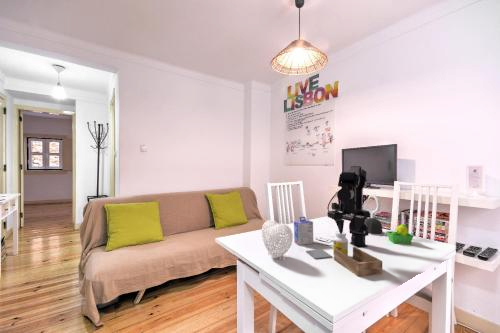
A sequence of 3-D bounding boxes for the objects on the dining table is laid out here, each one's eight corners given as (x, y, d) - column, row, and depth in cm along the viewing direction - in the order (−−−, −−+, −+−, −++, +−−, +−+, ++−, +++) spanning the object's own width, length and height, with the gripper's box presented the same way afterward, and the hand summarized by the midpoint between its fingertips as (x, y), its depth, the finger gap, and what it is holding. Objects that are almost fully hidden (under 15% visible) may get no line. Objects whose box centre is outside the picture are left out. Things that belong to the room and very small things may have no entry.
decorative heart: (256, 254, 111) (256, 219, 111) (272, 249, 117) (272, 216, 117) (281, 267, 96) (281, 228, 96) (298, 261, 102) (298, 224, 102)
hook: (360, 230, 151) (360, 193, 151) (375, 230, 152) (375, 193, 152) (371, 235, 140) (371, 195, 139) (387, 235, 141) (387, 195, 141)
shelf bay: (355, 257, 107) (355, 247, 107) (382, 273, 91) (382, 261, 91) (333, 259, 104) (333, 249, 104) (358, 276, 89) (358, 264, 89)
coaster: (321, 250, 116) (321, 249, 116) (332, 257, 107) (332, 256, 107) (305, 252, 114) (305, 250, 114) (315, 259, 105) (315, 257, 105)
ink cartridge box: (308, 240, 131) (308, 215, 131) (313, 243, 126) (314, 217, 126) (293, 242, 128) (293, 217, 128) (298, 245, 123) (298, 219, 123)
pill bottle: (331, 254, 111) (331, 230, 111) (343, 253, 112) (343, 230, 112) (337, 259, 105) (337, 234, 105) (350, 259, 105) (350, 234, 105)
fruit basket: (406, 240, 131) (406, 221, 131) (415, 245, 123) (415, 225, 123) (385, 239, 133) (385, 220, 133) (393, 245, 124) (393, 224, 124)
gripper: (354, 196, 113) (354, 227, 113) (321, 197, 108) (321, 229, 108) (371, 199, 102) (371, 233, 102) (335, 200, 97) (334, 236, 97)
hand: (348, 233), depth 103 cm, fingers open, 8 cm apart
